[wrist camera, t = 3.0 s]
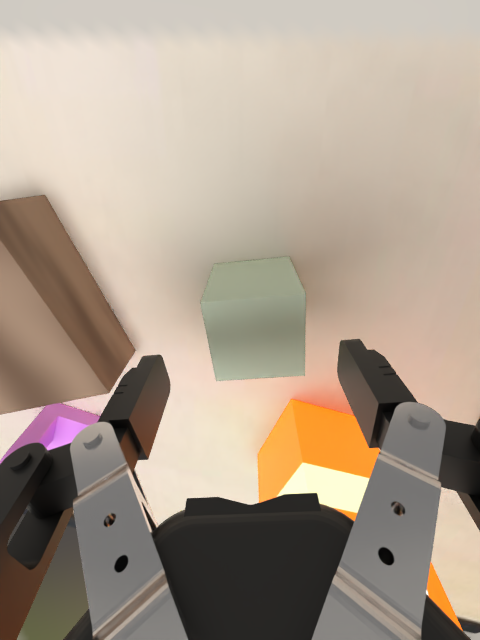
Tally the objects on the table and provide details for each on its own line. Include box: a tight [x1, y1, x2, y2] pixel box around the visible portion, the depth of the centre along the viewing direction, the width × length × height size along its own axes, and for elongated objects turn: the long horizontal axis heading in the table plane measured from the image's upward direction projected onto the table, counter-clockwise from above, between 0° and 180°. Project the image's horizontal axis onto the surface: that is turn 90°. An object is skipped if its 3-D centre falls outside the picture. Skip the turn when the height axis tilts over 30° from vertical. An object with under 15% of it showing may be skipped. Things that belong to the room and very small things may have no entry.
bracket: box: [0, 403, 100, 464], centre depth 26 cm, size 13×6×7 cm, turn 154°
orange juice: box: [258, 399, 463, 631], centre depth 18 cm, size 8×9×20 cm
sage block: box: [200, 257, 306, 381], centre depth 16 cm, size 5×5×6 cm
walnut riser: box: [0, 195, 135, 415], centre depth 18 cm, size 10×12×5 cm
